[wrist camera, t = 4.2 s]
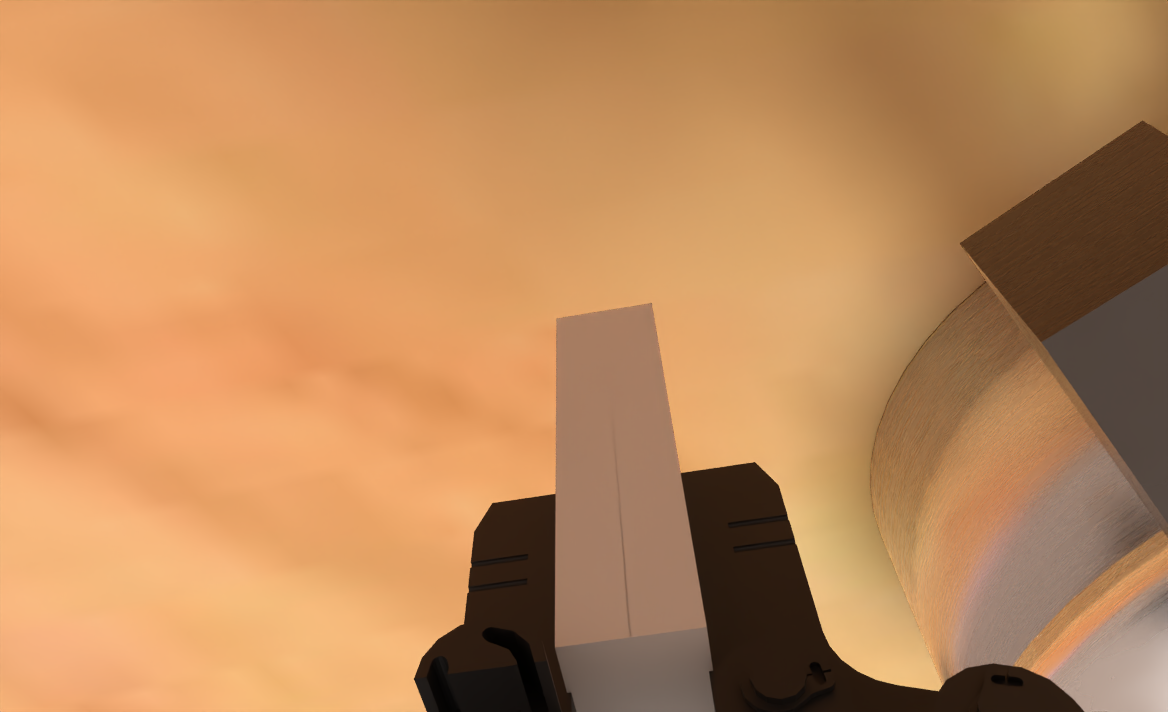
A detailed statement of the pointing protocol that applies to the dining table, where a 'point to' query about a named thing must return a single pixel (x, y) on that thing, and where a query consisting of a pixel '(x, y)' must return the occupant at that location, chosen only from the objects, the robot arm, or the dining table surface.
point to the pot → (993, 491)
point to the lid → (1101, 391)
